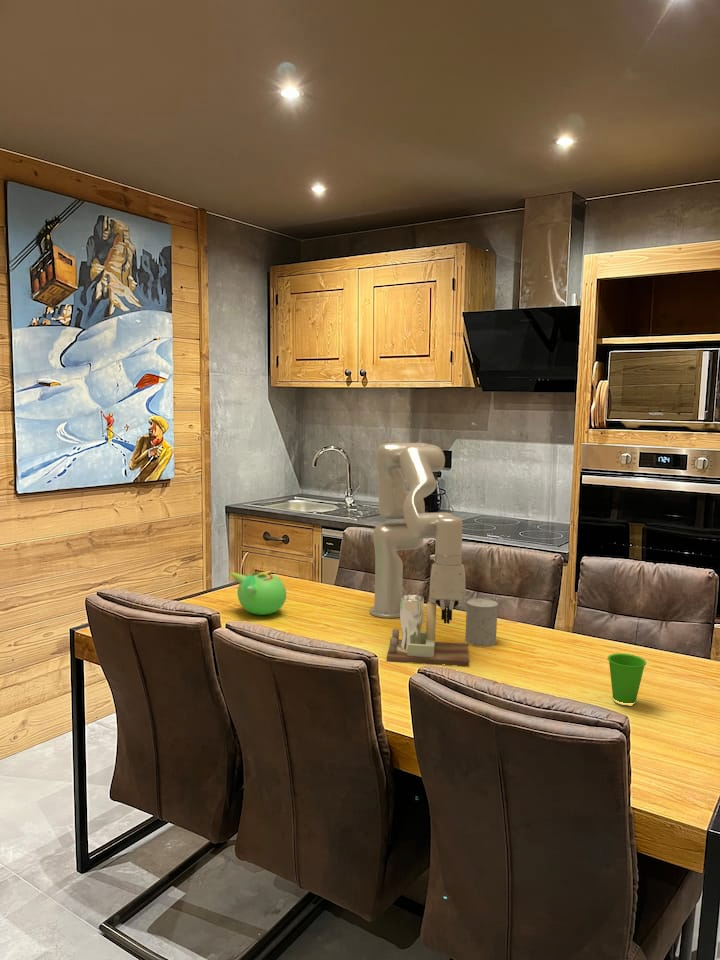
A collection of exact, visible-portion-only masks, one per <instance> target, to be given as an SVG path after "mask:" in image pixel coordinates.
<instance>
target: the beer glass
mask: <svg viewBox="0 0 720 960" xmlns="http://www.w3.org/2000/svg"><path fill="white" fill-rule="evenodd" d="M424 599H425V598H424V597H423V595H417V594H404V595H402V597H401V604H400V617H399V618H400V619H399V620H400V627H401V634H402V635H401V636H402V637H401V640H402V641H401V646H400V647H401V649H403V650H406V651H408V643H411V644H421V641H420V634H421V631H422V628H423V622H424V617H425V603H424Z"/></svg>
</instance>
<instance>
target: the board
mask: <svg viewBox="0 0 720 960" xmlns="http://www.w3.org/2000/svg"><path fill="white" fill-rule="evenodd" d="M391 633H392V634H391V637H390V638H389V647H388V649H387V653H386V654H387V655H386V662H390V663H391V662H394V663H406V662H413V663H412V664H421V663H425V664H426V665H440V666H443V665H442V664H445V665H444V666H451V667H453V666H452V665H457V666H456V667H466V666H470V665H469V664H470V663H469V662H470V658H469V644H468V643H462V642H461V643H460V642H447V641H445V642H443V641H435V648H434V658H432V657H417V656H407V653H408V651H406V650H403V649H401V647H400V646H401V641H402V639H400V629H399V628H393V629H392V630H391ZM421 644H426V643H421Z"/></svg>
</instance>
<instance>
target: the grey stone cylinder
mask: <svg viewBox="0 0 720 960" xmlns="http://www.w3.org/2000/svg"><path fill="white" fill-rule="evenodd" d="M498 605H499V602H497V601H495V600H493V599H489V598H482V597H479V598H470V599H467V600H466V610H465V611H466V614H465V618H466V619H465V638H464V642H465V643H466V642H467V643H466V644H468V645H470V644H471V646H473V647H474V646H475V647H480V646H481V647H483V648H486V647H492V646H495V645H496V644H497V629H498V628H497V627H498V607H499V606H498ZM481 647H480V648H481Z"/></svg>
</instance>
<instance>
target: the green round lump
mask: <svg viewBox="0 0 720 960" xmlns="http://www.w3.org/2000/svg"><path fill="white" fill-rule="evenodd" d="M271 572H272V570H267V571H262V572H255V573H252V574H250V575H244V574H241V573H237V572H230V573H229V574H230V576H231V577H232V578H234V579H235V580H237V582H239V585H238V587H237V599H238V601H239V604H240V605H241V606H242V607H243V609H244V610H246V611H247V612H248V613H251V614H253V615H257V616H267V615H271V614H273V613H275V612H277V611H279V610H280V609H281V608H282V607H283V606H284V604H285V603H286V599H287V590H286V586H285V584H284V582H283V581H282V580H281V579H280V578H279V577H278V576H276V575H274V574H272V573H271Z"/></svg>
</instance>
